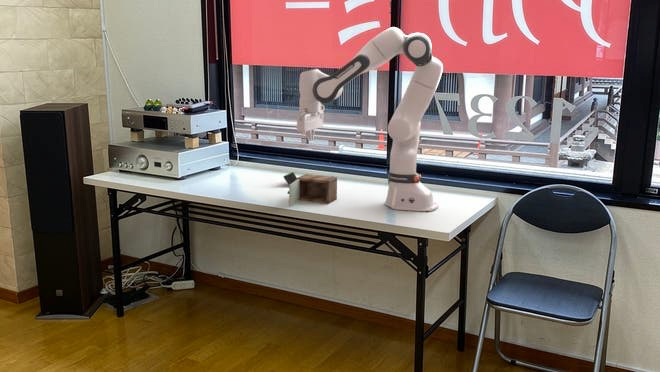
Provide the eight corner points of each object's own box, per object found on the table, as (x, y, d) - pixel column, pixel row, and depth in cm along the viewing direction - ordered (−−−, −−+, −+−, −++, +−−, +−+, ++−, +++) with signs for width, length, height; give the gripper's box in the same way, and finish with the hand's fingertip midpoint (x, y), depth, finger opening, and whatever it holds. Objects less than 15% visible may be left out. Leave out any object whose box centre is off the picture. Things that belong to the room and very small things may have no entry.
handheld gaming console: (305, 185, 299) (293, 168, 299) (293, 194, 300) (281, 176, 301) (311, 184, 310) (299, 167, 311) (299, 192, 312) (287, 175, 312)
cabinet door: (291, 205, 264) (291, 185, 262) (286, 205, 265) (286, 184, 263) (299, 199, 276) (299, 179, 274) (295, 198, 276) (295, 178, 275)
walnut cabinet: (336, 199, 280) (337, 177, 277) (328, 203, 271) (329, 181, 269) (305, 195, 285) (305, 174, 283) (297, 200, 277) (297, 177, 275)
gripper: (306, 110, 258) (307, 144, 261) (326, 106, 276) (326, 137, 279) (292, 109, 260) (293, 143, 263) (312, 105, 279) (313, 137, 282)
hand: (310, 140), depth 271 cm, fingers closed
